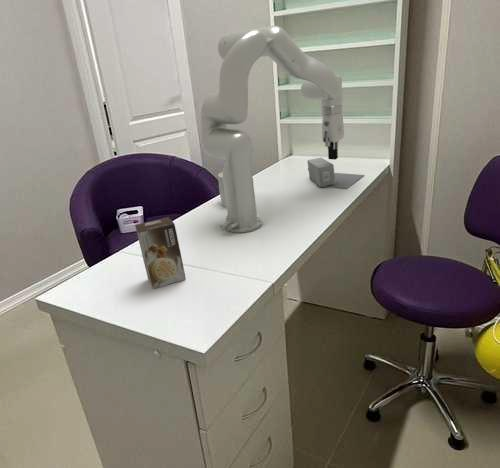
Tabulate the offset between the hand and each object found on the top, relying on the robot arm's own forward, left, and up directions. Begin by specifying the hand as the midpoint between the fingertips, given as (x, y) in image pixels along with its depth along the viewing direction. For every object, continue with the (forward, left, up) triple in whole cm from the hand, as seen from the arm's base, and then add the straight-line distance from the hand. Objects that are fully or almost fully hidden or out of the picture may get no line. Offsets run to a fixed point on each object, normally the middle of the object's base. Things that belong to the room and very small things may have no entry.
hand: (333, 158), depth 165 cm
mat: (+7, 0, -11) cm, 13 cm away
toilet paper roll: (-29, +27, -11) cm, 41 cm away
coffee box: (-85, +9, -11) cm, 86 cm away
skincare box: (-3, +2, -7) cm, 7 cm away
